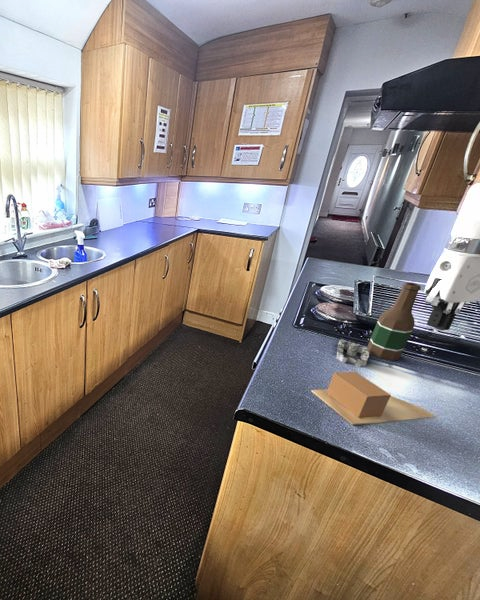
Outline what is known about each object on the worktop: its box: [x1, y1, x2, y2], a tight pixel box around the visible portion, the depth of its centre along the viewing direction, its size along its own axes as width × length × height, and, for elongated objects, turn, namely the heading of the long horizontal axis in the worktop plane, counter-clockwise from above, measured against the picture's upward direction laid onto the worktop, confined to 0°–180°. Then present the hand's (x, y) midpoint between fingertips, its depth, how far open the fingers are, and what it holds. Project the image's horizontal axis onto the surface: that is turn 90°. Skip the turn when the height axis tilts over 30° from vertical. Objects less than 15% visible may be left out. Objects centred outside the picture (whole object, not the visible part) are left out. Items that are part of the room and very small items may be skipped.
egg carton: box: [335, 338, 370, 368], centre depth 98 cm, size 11×8×4 cm
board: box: [310, 388, 438, 426], centre depth 80 cm, size 22×12×1 cm, turn 97°
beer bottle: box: [366, 282, 422, 362], centre depth 96 cm, size 8×8×24 cm
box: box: [327, 371, 392, 418], centre depth 78 cm, size 6×9×6 cm, turn 7°
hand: (437, 327), depth 73 cm, fingers closed
